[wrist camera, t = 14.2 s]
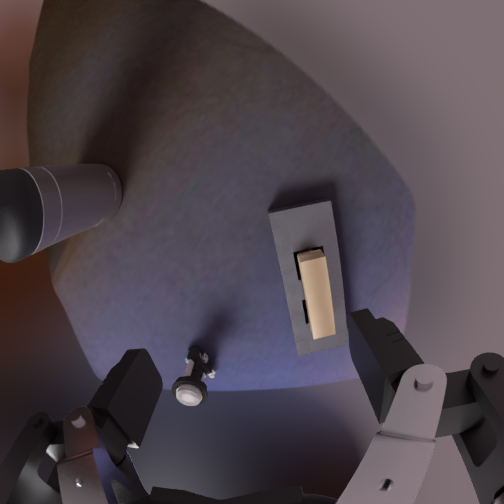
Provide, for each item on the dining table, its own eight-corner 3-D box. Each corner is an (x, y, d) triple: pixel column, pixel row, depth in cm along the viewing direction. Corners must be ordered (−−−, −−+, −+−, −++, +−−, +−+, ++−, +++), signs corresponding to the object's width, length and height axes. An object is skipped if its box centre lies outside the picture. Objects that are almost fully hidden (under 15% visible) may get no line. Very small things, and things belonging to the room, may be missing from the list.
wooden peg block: (305, 313, 41) (313, 339, 34) (293, 245, 38) (300, 262, 31) (324, 309, 40) (335, 334, 34) (313, 241, 37) (325, 256, 31)
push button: (226, 366, 44) (219, 408, 34) (202, 377, 45) (192, 417, 35) (202, 340, 42) (189, 380, 33) (178, 352, 43) (162, 391, 34)
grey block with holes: (295, 344, 42) (297, 355, 39) (267, 210, 36) (268, 213, 33) (342, 333, 42) (347, 343, 39) (325, 198, 36) (330, 200, 33)
